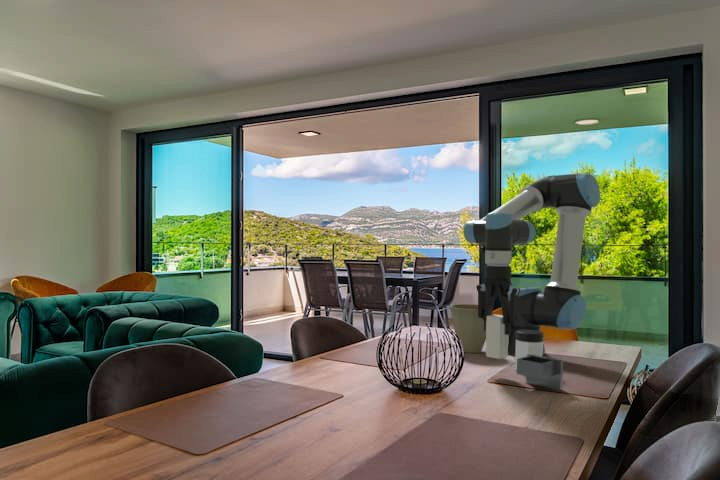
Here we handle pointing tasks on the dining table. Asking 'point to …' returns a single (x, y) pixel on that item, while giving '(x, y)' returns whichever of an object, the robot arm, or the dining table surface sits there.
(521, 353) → the jar
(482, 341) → the plant pot
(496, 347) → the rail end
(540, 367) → the cup bracket
